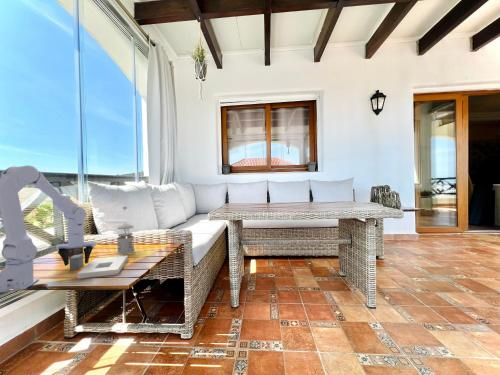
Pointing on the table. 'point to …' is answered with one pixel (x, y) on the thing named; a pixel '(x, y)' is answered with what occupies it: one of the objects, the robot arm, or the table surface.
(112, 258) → the base plate
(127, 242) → the french press
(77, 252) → the box
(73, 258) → the block
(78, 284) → the table surface
